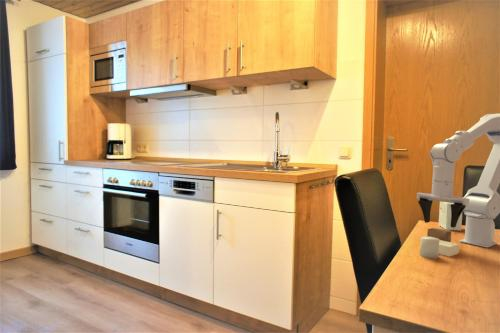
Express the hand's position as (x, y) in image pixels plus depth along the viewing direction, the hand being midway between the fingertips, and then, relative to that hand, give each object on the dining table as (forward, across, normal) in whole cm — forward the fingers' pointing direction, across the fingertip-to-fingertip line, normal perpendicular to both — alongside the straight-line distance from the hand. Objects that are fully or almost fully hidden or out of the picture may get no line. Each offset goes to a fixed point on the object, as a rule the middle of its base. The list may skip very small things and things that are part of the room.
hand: (439, 224), depth 103 cm
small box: (+7, -9, +33) cm, 35 cm away
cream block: (+7, +4, -7) cm, 11 cm away
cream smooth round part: (+7, +4, -15) cm, 17 cm away
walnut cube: (+7, 0, 0) cm, 7 cm away
